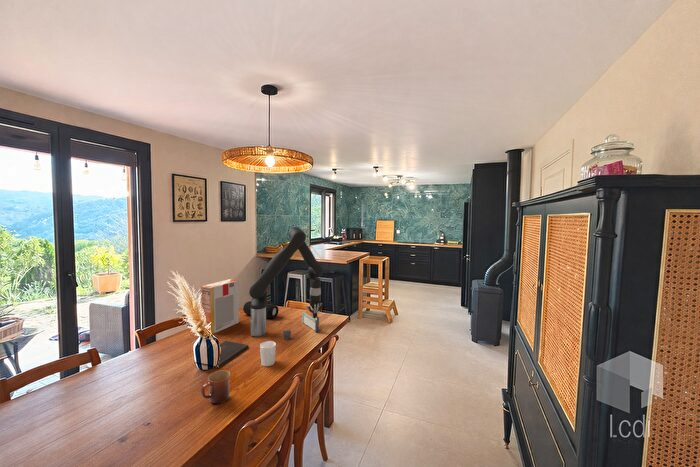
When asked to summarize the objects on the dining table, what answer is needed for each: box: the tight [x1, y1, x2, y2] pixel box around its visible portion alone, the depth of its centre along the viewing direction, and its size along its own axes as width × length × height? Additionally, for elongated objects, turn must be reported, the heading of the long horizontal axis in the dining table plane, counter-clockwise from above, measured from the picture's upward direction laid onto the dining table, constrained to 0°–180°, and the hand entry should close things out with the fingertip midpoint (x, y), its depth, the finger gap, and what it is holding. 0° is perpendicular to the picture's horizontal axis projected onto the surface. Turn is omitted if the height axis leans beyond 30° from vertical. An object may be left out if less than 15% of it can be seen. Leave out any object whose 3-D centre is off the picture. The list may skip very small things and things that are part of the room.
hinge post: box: [314, 316, 320, 334], centre depth 188 cm, size 2×2×10 cm
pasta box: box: [200, 278, 240, 335], centre depth 192 cm, size 23×8×30 cm, turn 156°
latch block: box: [282, 328, 292, 340], centre depth 178 cm, size 4×2×5 cm, turn 112°
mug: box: [200, 369, 232, 404], centre depth 118 cm, size 12×9×10 cm
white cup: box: [259, 340, 277, 367], centre depth 148 cm, size 8×8×10 cm
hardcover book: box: [216, 340, 249, 369], centre depth 156 cm, size 16×23×2 cm
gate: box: [301, 311, 316, 331], centre depth 196 cm, size 18×2×7 cm, turn 37°
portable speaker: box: [242, 300, 280, 319], centre depth 215 cm, size 26×10×10 cm, turn 71°
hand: (315, 318), depth 201 cm, fingers closed
